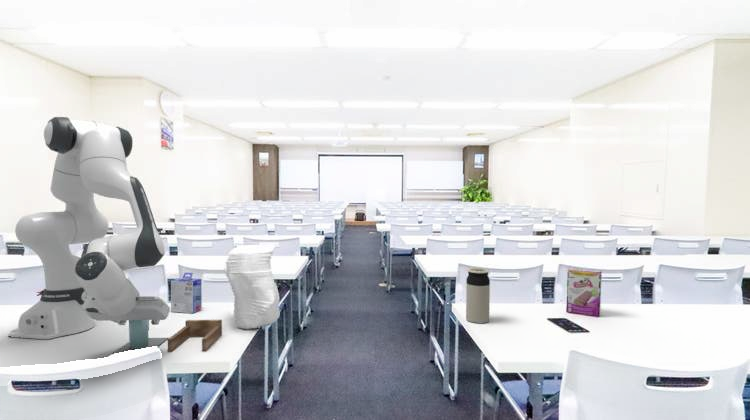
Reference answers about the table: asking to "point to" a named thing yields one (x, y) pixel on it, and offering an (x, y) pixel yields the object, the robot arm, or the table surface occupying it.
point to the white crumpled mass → (253, 286)
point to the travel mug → (477, 295)
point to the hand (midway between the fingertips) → (140, 322)
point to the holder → (197, 333)
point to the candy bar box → (584, 292)
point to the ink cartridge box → (186, 294)
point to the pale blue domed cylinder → (138, 334)
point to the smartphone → (568, 325)
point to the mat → (151, 343)
